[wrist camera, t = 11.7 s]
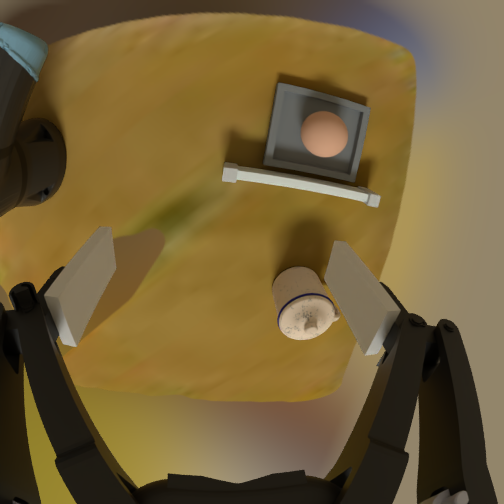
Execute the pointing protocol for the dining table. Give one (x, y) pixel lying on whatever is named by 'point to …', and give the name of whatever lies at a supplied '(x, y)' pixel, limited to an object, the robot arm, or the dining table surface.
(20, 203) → the robot arm
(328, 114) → the ball
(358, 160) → the tray
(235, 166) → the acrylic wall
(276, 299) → the teacup with lid
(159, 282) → the dining table surface
